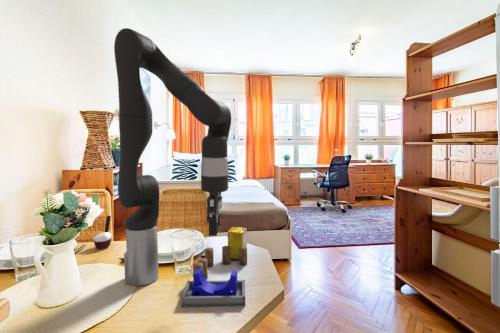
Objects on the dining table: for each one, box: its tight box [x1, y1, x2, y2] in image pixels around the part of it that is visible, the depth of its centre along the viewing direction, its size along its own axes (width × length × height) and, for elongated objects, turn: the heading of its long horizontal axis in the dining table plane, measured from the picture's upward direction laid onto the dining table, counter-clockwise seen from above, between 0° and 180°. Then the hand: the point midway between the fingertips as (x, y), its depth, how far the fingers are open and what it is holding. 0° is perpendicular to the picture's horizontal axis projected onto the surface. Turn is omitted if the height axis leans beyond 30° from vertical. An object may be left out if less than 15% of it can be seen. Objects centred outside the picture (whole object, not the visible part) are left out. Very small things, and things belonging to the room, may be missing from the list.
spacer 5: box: [238, 246, 248, 267], centre depth 98 cm, size 3×3×6 cm
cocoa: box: [93, 215, 112, 250], centre depth 113 cm, size 10×6×12 cm, turn 152°
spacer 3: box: [204, 247, 215, 268], centre depth 97 cm, size 3×3×6 cm
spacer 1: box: [192, 261, 203, 281], centre depth 85 cm, size 3×3×6 cm
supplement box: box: [227, 226, 248, 262], centre depth 103 cm, size 6×6×11 cm
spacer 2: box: [197, 257, 209, 280], centre depth 88 cm, size 3×3×6 cm
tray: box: [180, 279, 246, 308], centre depth 77 cm, size 17×9×2 cm, turn 92°
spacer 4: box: [221, 245, 232, 266], centre depth 98 cm, size 3×3×6 cm
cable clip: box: [192, 269, 238, 296], centre depth 77 cm, size 12×4×6 cm, turn 84°
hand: (214, 230), depth 77 cm, fingers open, 8 cm apart
